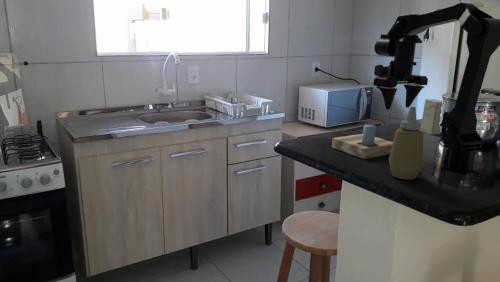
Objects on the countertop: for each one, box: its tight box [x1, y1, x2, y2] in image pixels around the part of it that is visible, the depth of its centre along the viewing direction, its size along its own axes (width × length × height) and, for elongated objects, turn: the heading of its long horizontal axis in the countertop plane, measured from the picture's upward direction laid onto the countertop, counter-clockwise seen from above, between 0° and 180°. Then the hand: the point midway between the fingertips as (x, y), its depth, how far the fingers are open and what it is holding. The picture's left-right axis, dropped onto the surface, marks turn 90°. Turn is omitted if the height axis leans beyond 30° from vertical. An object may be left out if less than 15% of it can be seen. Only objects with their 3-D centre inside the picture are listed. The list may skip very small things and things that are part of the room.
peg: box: [362, 124, 377, 147], centre depth 124 cm, size 4×4×8 cm
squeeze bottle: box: [388, 106, 424, 181], centre depth 104 cm, size 8×8×18 cm
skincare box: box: [419, 98, 443, 136], centre depth 153 cm, size 6×4×12 cm
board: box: [331, 133, 393, 160], centre depth 129 cm, size 14×14×3 cm
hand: (397, 108), depth 131 cm, fingers open, 9 cm apart
